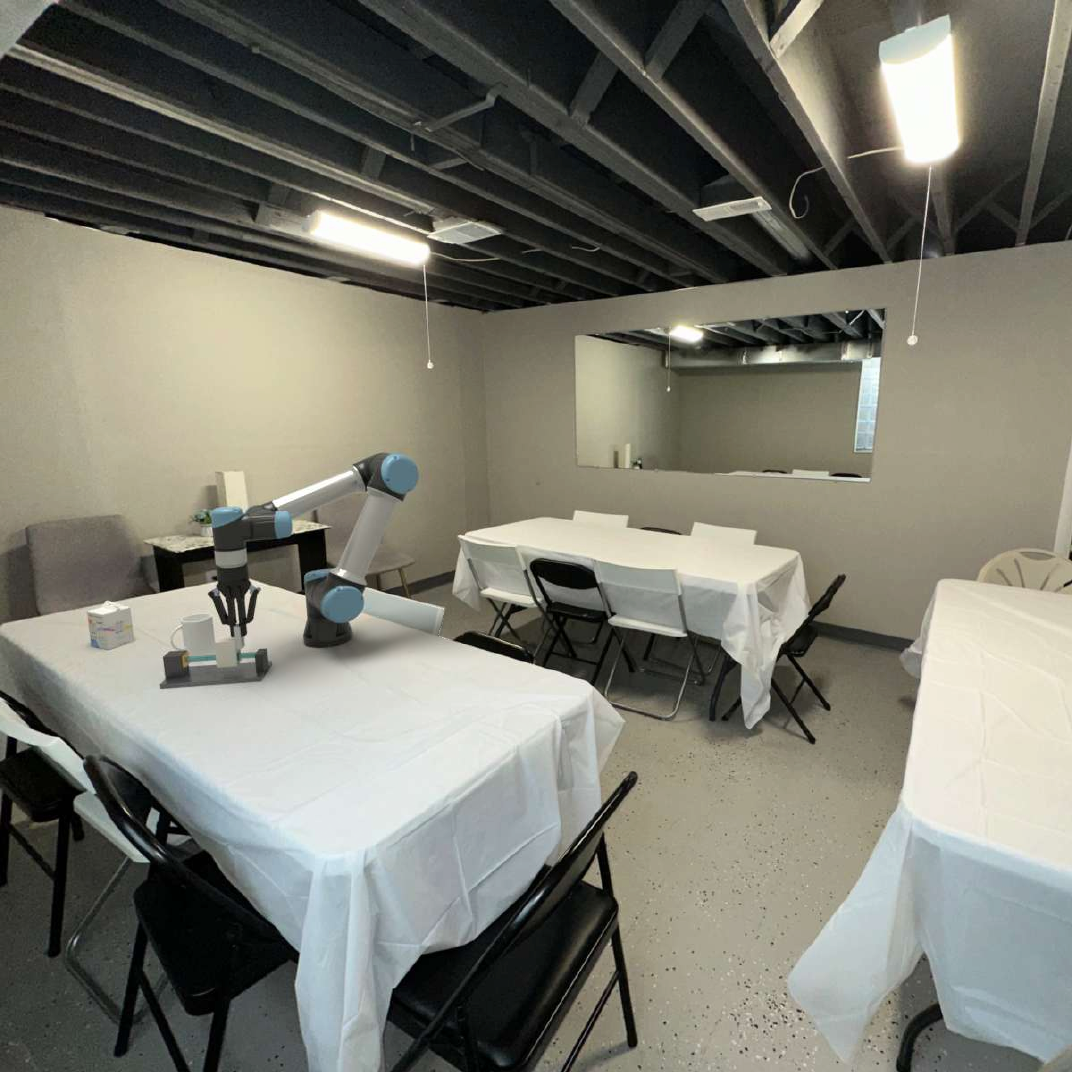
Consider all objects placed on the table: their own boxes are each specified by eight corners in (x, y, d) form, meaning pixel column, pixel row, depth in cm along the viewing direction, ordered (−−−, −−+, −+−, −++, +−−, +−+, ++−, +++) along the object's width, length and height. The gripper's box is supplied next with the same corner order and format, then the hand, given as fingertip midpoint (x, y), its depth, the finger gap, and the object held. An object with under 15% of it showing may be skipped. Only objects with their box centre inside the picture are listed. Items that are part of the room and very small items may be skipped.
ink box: (90, 646, 179) (84, 605, 177) (118, 637, 187) (112, 598, 184) (108, 650, 176) (102, 609, 173) (135, 641, 184) (130, 601, 181)
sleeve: (241, 660, 160) (239, 635, 159) (236, 666, 156) (234, 641, 154) (222, 661, 159) (219, 637, 158) (217, 667, 155) (214, 642, 154)
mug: (176, 666, 164) (171, 627, 162) (168, 658, 170) (163, 620, 168) (221, 655, 172) (216, 617, 170) (212, 647, 178) (207, 610, 176)
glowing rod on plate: (272, 664, 165) (269, 640, 164) (260, 681, 154) (258, 655, 153) (178, 671, 161) (175, 646, 159) (160, 688, 150) (156, 662, 149)
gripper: (261, 560, 157) (269, 641, 162) (210, 562, 155) (219, 644, 159) (253, 567, 150) (261, 651, 155) (200, 569, 148) (209, 654, 152)
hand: (240, 647), depth 157 cm, fingers closed
